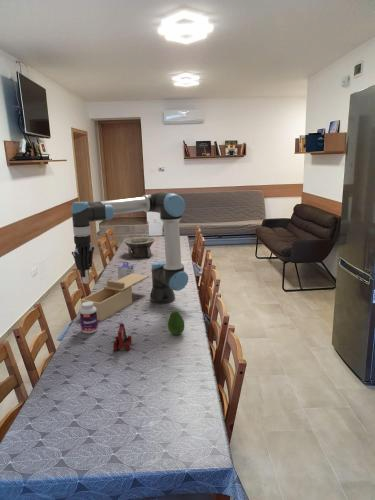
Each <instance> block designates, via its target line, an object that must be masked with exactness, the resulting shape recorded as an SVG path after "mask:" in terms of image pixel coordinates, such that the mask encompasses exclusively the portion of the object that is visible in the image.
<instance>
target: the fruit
mask: <svg viewBox="0 0 375 500" xmlns="http://www.w3.org/2000/svg"><path fill="white" fill-rule="evenodd" d="M167 329H168V332H169V333H170V334H172V335H174V336H179V335H182V333H184V329H185V321H184V318H183V317H182V315H181V313H180V312H179V310H173V311H172V312H170V314H169V318H168V320H167Z"/></svg>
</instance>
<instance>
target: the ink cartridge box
mask: <svg viewBox="0 0 375 500" xmlns="http://www.w3.org/2000/svg"><path fill="white" fill-rule="evenodd" d="M132 273H133V274H135V272H134V264H129V261H122V264H120V265H118V266H117V277H118V279H117V280H119V279H121V278H123V277H125V276H128V275H130V274H132Z"/></svg>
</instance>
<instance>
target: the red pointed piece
mask: <svg viewBox="0 0 375 500" xmlns="http://www.w3.org/2000/svg"><path fill="white" fill-rule="evenodd" d="M117 331H118V332H117V336H115V341H114V342H113V351H114V352H116V351H119V350H120V351H122V350H124V348H125V350H126V351H131V350H130V349H131V345H132V342H133V341H132V335H127V334H126V333H127V332H126V328H125V324H124V323H123V322H122V323H120V324H119V328H118V330H117Z"/></svg>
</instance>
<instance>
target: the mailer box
mask: <svg viewBox="0 0 375 500" xmlns="http://www.w3.org/2000/svg"><path fill="white" fill-rule="evenodd" d="M132 287H133V286H131V287H129V288H127V289H126V290H124V291H117V290H111V289H106V288H104V287H103V288H102V289H100V290H98V291H96V292H94V293H92V294H90V295H88V296H86V297H83V298H81V299H80V305H81V307H82V303H84V302H93V304H94V307H95V308H96V310H97V322H98V321H99V322H103V321H104V320H106V319H107V318H109V317H111V316H112V315H115V314H116V313H118V312H119V311H121V310H123V309H124V308H126V307H128V306H129V305H132V304H133V291H132Z"/></svg>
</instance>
